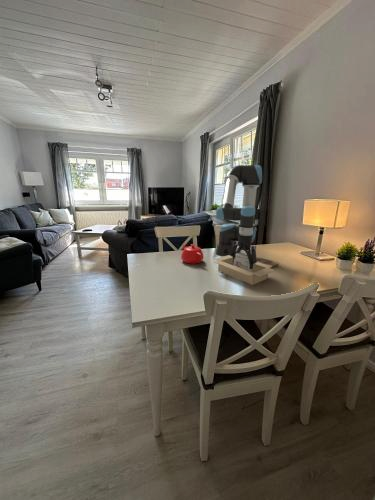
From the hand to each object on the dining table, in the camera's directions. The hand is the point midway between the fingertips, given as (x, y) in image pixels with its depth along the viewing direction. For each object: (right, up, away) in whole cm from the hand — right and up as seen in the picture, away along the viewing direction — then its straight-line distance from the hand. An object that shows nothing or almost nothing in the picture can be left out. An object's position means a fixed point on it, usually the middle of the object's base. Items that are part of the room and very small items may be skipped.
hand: (241, 271), depth 126 cm
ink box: (0, -1, 0) cm, 1 cm away
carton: (0, -2, 0) cm, 2 cm away
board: (+19, +2, +18) cm, 26 cm away
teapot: (-30, +5, +22) cm, 37 cm away
